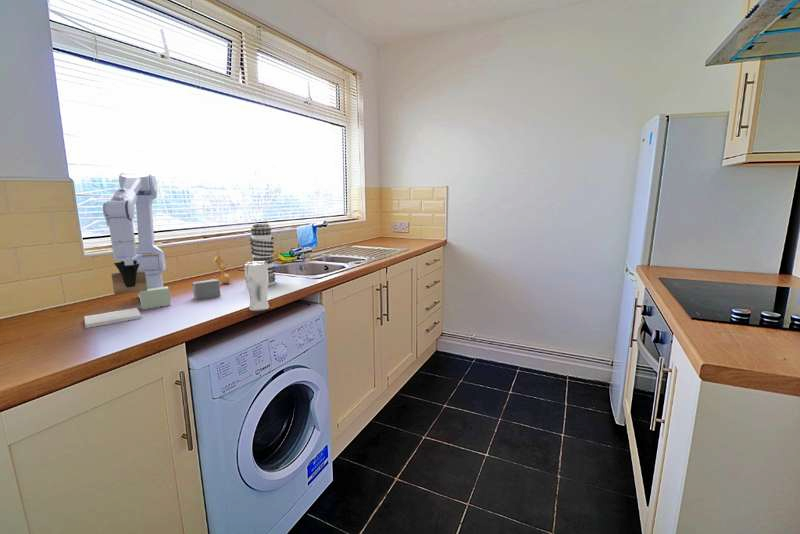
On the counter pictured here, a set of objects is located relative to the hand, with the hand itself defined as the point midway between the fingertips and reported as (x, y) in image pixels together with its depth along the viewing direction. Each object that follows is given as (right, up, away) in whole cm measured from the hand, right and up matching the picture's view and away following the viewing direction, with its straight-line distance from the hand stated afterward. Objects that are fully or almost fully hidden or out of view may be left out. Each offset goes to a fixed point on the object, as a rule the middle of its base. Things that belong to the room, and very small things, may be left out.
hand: (129, 285), depth 114 cm
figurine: (+8, -1, +44) cm, 45 cm away
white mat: (-4, -10, -1) cm, 11 cm away
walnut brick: (0, -2, 0) cm, 2 cm away
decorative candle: (+26, -1, +43) cm, 50 cm away
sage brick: (+1, -8, +12) cm, 14 cm away
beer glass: (+36, -8, +8) cm, 38 cm away
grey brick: (+12, -5, +23) cm, 26 cm away
